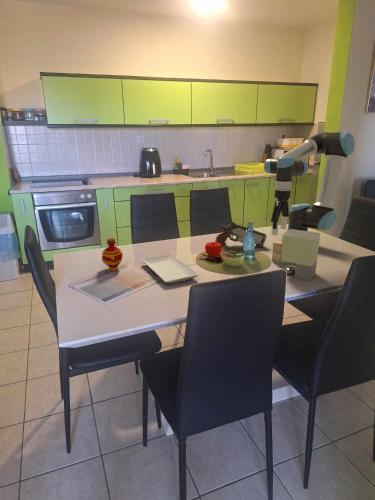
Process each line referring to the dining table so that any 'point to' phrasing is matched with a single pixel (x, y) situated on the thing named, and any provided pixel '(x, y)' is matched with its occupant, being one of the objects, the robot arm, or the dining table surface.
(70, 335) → the dining table surface
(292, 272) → the token
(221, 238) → the gun
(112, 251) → the red yellow vase
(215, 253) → the apple
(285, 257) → the pale green stepped block
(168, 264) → the tray
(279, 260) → the blade tool
